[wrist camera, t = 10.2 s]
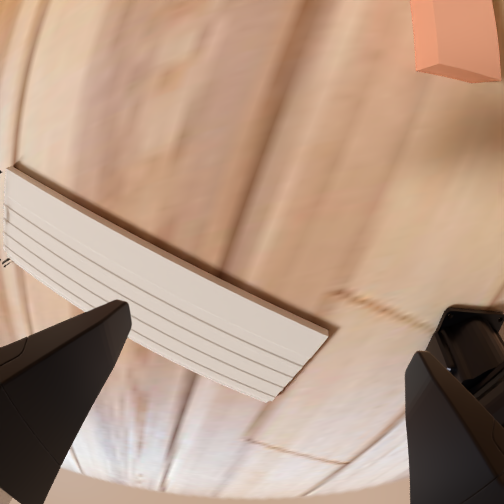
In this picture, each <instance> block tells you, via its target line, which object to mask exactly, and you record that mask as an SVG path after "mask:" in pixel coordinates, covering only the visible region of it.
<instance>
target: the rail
mask: <svg viewBox="0 0 504 504" xmlns="http://www.w3.org/2000/svg"><path fill="white" fill-rule="evenodd" d="M410 5H411V13H412V22H413V32H414V44H415V60H416V71H419V72H424V73H429V74H434V75H439V76H444V77H448V78H453V79H457V80H461V81H465V82H469V83H478V82H491V81H501V67H500V54H499V44H498V36H497V28H496V21H495V15H494V10H493V4H492V0H410Z"/></svg>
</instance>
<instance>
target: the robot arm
mask: <svg viewBox="0 0 504 504" xmlns="http://www.w3.org/2000/svg"><path fill="white" fill-rule="evenodd" d="M449 314H451V315H449ZM448 315H449V316H448ZM499 318H500V319H499ZM503 322H504V314H503V313H502V312H494V311H482V310H470V309H459V308H448V309H446V310H445V311H444V313H443V315H442V318H441V320H440V322H439V325H438V327H437V329H436V331H435V333H434V334H433V336H432V338H431V340H430V342H429V344H428V346H427V348H426V350H425V351H417V352H416V353H415V354H414V356H413V358H412V360H411V362H410V363H409V365H408V367H407V369H406V372H405V415H406V429H407V440H408V453H409V471H410V504H504V341H503V340H502V338H501V336H500V335H499V333H498V332H499V330H500V328H501V326H502V324H503ZM131 327H132V320H131V313H130V307H129V304H128V302H126V301H122V300H118V299H116V300H113V301H111V302H108V303H106V304H104V305H101V306H99V307H97V308H94V309H92V310H89V311H87V312H85V313H82V314H80V315H77V316H75V317H73V318H70V319H68V320H66V321H63V322H61V323H59V324H56V325H54V326H51V327H49V328H47V329H44V330H42V331H40V332H37V333H35V334H33V335H30V336H29V337H25V338H23V339H21V340H18V341H16V342H14V343H11V344H9V345H6V346H3V347H0V504H9V503H10V501H11V499H12V498H14V499H15V500H17V501H18V502H19V503H21V504H43V503H44V501H45V499H46V497H47V494H48V492H49V490H50V488H51V486H52V484H53V482H54V479H55V477H56V475H57V473H58V471H59V469H60V467H61V465H62V463H63V461H64V459H65V457H66V455H67V453H68V451H69V449H70V447H71V445H72V443H73V441H74V439H75V437H76V435H77V434H78V432H79V430H80V428H81V426H82V424H83V422H84V420H85V418H86V417H87V415H88V413H89V411H90V409H91V407H92V405H93V404H94V402H95V400H96V398H97V396H98V395H99V393H100V391H101V389H102V387H103V386H104V384H105V382H106V380H107V379H108V377H109V375H110V373H111V372H112V370H113V368H114V366H115V364H116V362H117V360H118V357H119V355H120V353H121V350H122V348H123V346H124V344H125V341H126V339H127V337H128V335H129V332H130V330H131Z"/></svg>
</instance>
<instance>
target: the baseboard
mask: <svg viewBox="0 0 504 504" xmlns="http://www.w3.org/2000/svg"><path fill="white" fill-rule="evenodd" d="M0 173H2V172H1V171H0ZM4 194H5V196H4V205H3V208H4V218H3V223H4V231H3V236H4V245H3V250H4V251H5V252H6V253H7V257H8V259H6V260H7V261H9V260H10V259H11V260H12V261H13V262H14V263H16V264H17V265H18V266H20V267H21V268H22V269H24V270H25V271H26V272H28V273H29V274H30V275H32V276H33V277H34V278H36V279H37V280H38V281H40V282H41V283H43V284H44V285H45V286H47V287H48V288H50V289H51V290H53V291H54V292H56V293H57V294H58V295H60V296H61V297H63V298H64V299H66V300H67V301H69V302H70V303H72V304H73V305H75V306H76V307H78V308H80V309H81V310H83V311H84V312H87V311H89V310H92V309H94V308H97V307H99V306H101V305H104V304H106V303H108V302H111V301H113V300H116V299H118V300H122V301H126V302H128V304H129V307H130V313H131V320H132V327H131V330H130V332H129V335H128V338H129V339H131V340H133V341H135V342H136V343H138V344H140V345H142V346H144V347H146V348H147V349H149V350H151V351H153V352H155V353H157V354H159V355H161V356H163V357H165V358H167V359H169V360H170V361H172V362H174V363H176V364H178V365H180V366H183V367H185V368H187V369H189V370H191V371H193V372H195V373H197V374H199V375H201V376H204V377H206V378H208V379H210V380H212V381H215V382H217V383H219V384H221V385H224V386H226V387H228V388H230V389H233V390H235V391H238V392H240V393H242V394H245V395H247V396H250V397H252V398H255V399H257V400H260V401H262V402H265V403H267V402H268V401H273V399H274V398H275V397H276V396H277V395H278V393H279V392H280V391H282V390H283V389H284V387H285V386H286V385H287V384H288V383H289V381H291V380H292V379H293V377H294V376H295V375H296V374H297V372H298V371H299V370H301V369H302V367H303V366H304V364H305V363H306V362H307V361H308V360H309V359H310V358H311V357H312V356H313V355H314V353H315V352H316V351H317V350H318V349H319V348H320V346H321V345H322V344H323V343H324V342H325V340H326V339H327V338H328V330H327V329H325V328H323V327H320V326H318V325H316V324H314V323H312V322H310V321H307V320H305V319H303V318H301V317H299V316H297V315H294V314H292V313H290V312H288V311H286V310H284V309H282V308H280V307H277V306H275V305H273V304H271V303H269V302H267V301H265V300H263V299H261V298H259V297H257V296H254V295H252V294H250V293H248V292H246V291H244V290H242V289H240V288H238V287H236V286H234V285H232V284H230V283H228V282H226V281H224V280H222V279H220V278H218V277H216V276H214V275H212V274H210V273H208V272H206V271H204V270H202V269H200V268H198V267H196V266H194V265H192V264H190V263H188V262H186V261H184V260H182V259H180V258H178V257H176V256H174V255H172V254H170V253H168V252H166V251H164V250H162V249H161V248H159V247H157V246H155V245H153V244H151V243H149V242H147V241H145V240H143V239H141V238H140V237H138V236H136V235H134V234H132V233H130V232H128V231H126V230H124V229H123V228H121V227H119V226H117V225H115V224H113V223H111V222H110V221H108V220H106V219H104V218H102V217H100V216H99V215H97V214H95V213H93V212H91V211H90V210H88V209H86V208H84V207H82V206H80V205H79V204H77V203H75V202H73V201H72V200H70V199H68V198H66V197H64V196H63V195H61V194H59V193H57V192H56V191H54V190H52V189H50V188H49V187H47V186H45V185H43V184H42V183H40V182H38V181H36V180H35V179H33V178H31V177H30V176H28V175H26V174H24V173H23V172H21V171H19V170H18V169H16V168H14V167H13V166H11V167H8V168H6V173H5V186H4ZM0 260H1V259H0ZM4 262H5V261H4ZM2 264H3V262H2ZM8 264H9V263H8ZM8 264H7V265H8ZM5 266H6V265H5ZM5 266H4V267H5Z"/></svg>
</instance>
